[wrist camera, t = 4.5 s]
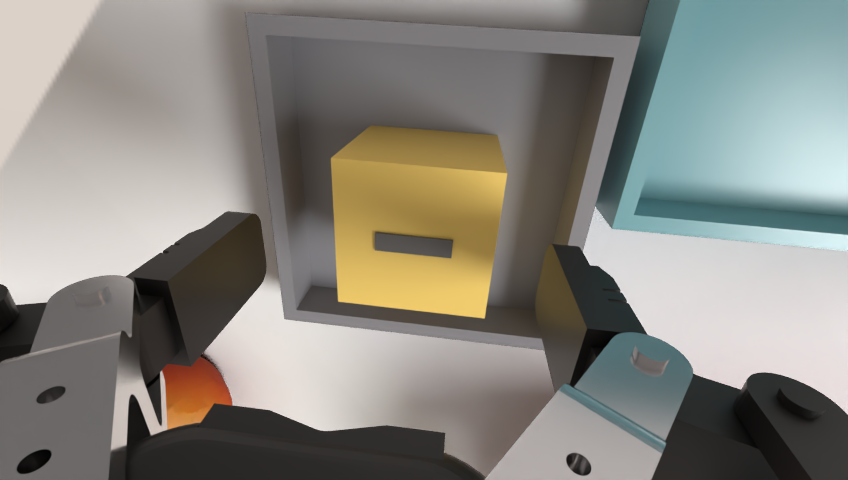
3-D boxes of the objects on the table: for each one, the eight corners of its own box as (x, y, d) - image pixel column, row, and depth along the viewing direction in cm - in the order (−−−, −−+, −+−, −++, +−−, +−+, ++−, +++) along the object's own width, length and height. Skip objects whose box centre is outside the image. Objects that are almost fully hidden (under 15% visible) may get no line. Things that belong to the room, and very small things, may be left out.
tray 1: (615, 36, 14) (641, 36, 12) (546, 317, 19) (555, 351, 17) (278, 16, 15) (244, 12, 13) (304, 289, 20) (284, 319, 18)
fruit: (73, 314, 21) (19, 462, 15) (237, 313, 25) (244, 430, 19) (77, 409, 25) (35, 558, 19) (220, 395, 29) (221, 513, 23)
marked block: (497, 135, 15) (507, 174, 11) (481, 248, 18) (484, 320, 13) (371, 125, 16) (329, 158, 11) (371, 237, 18) (337, 303, 14)
